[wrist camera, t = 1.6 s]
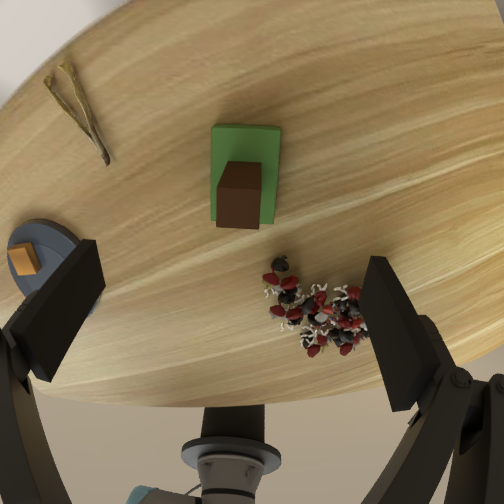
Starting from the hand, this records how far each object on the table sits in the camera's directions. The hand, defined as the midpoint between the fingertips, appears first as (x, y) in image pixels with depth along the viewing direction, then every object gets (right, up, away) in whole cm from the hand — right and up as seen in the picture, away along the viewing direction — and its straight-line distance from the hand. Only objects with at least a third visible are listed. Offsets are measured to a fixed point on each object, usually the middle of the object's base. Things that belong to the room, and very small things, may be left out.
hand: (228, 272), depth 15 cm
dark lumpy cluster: (+10, -5, +24) cm, 26 cm away
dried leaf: (-17, +14, +11) cm, 24 cm away
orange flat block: (-29, 0, +20) cm, 35 cm away
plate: (-26, -2, +23) cm, 35 cm away
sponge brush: (0, +9, +16) cm, 18 cm away
